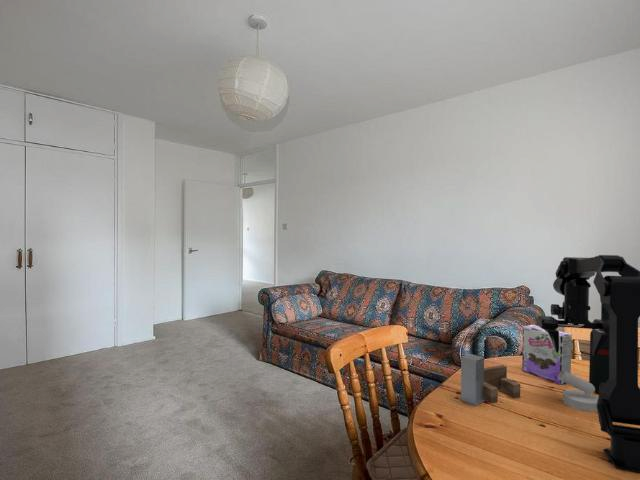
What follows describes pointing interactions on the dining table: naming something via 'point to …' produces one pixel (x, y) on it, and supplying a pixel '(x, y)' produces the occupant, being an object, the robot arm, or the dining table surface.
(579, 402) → the wall hook
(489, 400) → the bench
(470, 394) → the grey square pillar
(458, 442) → the dining table surface
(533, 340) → the candy box
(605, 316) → the wine bottle
